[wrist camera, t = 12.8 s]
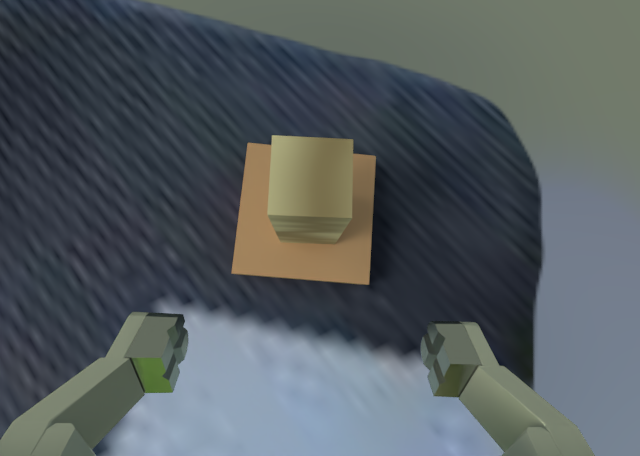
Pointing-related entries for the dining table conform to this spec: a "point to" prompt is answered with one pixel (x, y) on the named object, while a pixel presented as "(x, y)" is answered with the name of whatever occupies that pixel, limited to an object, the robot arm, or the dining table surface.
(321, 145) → the post
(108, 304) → the dining table surface
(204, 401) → the dining table surface
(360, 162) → the tile
